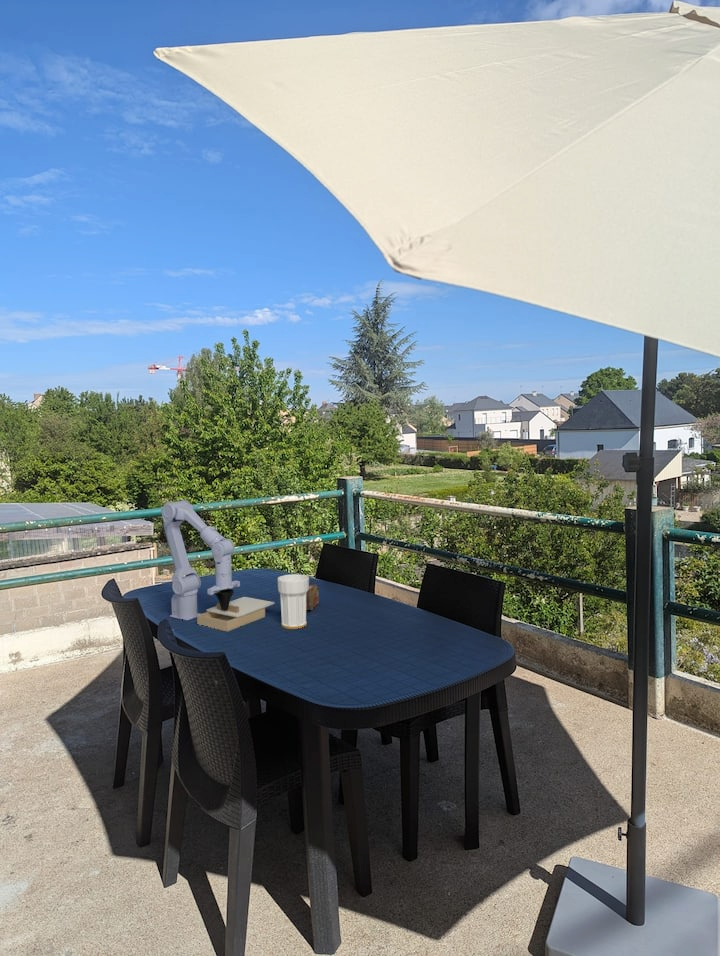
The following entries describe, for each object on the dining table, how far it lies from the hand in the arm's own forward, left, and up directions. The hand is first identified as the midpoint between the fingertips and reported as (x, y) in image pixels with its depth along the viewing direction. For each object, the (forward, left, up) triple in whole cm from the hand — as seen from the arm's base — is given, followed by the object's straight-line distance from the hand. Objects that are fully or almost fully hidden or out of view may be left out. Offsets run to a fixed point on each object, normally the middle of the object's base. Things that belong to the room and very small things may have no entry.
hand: (224, 609), depth 240 cm
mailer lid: (0, +9, -1) cm, 9 cm away
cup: (+23, +12, -5) cm, 26 cm away
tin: (+15, +33, -5) cm, 36 cm away
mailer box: (0, +4, -5) cm, 6 cm away
